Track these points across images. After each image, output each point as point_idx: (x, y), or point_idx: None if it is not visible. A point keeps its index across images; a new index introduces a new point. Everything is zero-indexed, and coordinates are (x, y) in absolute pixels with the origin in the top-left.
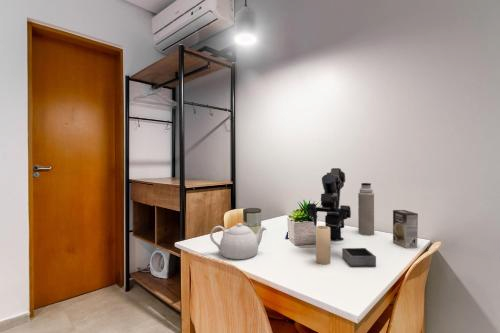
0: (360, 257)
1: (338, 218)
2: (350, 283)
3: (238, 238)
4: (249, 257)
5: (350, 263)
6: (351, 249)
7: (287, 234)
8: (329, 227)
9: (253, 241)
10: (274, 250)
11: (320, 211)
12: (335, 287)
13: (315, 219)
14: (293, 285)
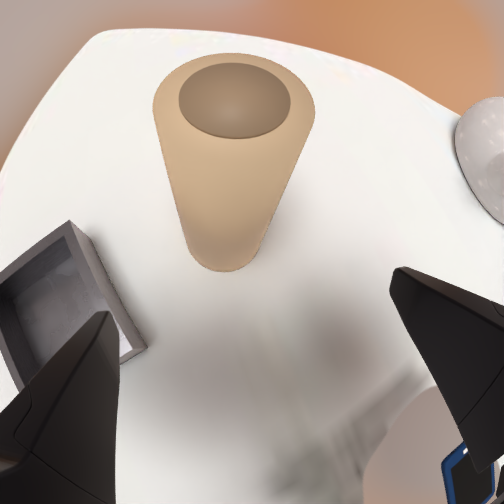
0: (32, 250)
1: (46, 400)
2: (94, 110)
3: (500, 97)
4: (455, 143)
5: (86, 238)
6: None
7: (491, 468)
8: (165, 127)
9: (489, 130)
10: (461, 256)
11: (500, 495)
12: (136, 73)
13: (450, 296)
14: (245, 44)
